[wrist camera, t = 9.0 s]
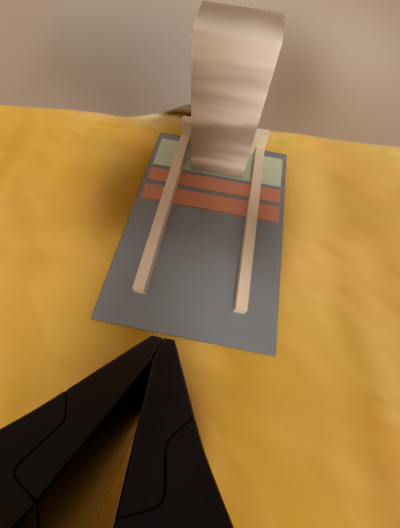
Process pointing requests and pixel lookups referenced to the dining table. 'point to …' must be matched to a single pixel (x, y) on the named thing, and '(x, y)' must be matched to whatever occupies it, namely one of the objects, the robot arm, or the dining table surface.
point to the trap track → (201, 250)
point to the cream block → (230, 82)
